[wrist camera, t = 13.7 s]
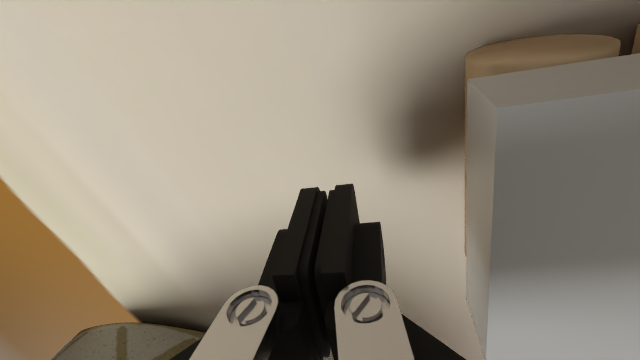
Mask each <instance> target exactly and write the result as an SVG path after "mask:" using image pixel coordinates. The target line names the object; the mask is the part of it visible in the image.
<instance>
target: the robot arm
mask: <svg viewBox="0 0 640 360" xmlns="http://www.w3.org/2000/svg"><path fill="white" fill-rule="evenodd" d="M330 348H331V350H332V354H333V358H334V360H466V359H464V358H463V357H462V356H460V355H459V354H457V353H456V352H455V351H453V350H452V349H450V348H449V347H448V346H446V345H445V344H443V343H442V342H440V341H439V340H438V339H436V338H435V337H433V336H432V335H431V334H429V333H428V332H426V331H425V330H424V329H422V328H421V327H419V326H418V325H416V324H415V323H414V322H412V321H411V320H409V319H408V318H407V317H405V316H404V315H402V314H401V312H400V308H399V305H398V301H397V298H396V296H395V294H394V292H393V291H392V290H391V289H390V288H389V287H388V286H387V285H386V272H385V258H384V248H383V239H382V231H381V224H380V222H373V223H359V216H358V210H357V204H356V197H355V191H354V186H353V184H345V185H336V186H335V190H330V191H329V196H328V200H327V195H326V192H325V191H320V190H319V188H318V187H315V188H305V189H301V190H300V193H299V196H298V199H297V202H296V205H295V208H294V211H293V214H292V217H291V220H290V223H289V226H288V229H283V230H279V231H278V233H277V235H276V238H275V241H274V243H273V246H272V249H271V251H270V254H269V257H268V260H267V262H266V265H265V268H264V270H263V273H262V276H261V278H260V281H259V284H258V285H257V286H250V287H247V288H244V289H242V290H240V291H238V292H236V293H235V294H234V295H232V296H231V297H230V298H229V299H228V300H227V301H226V302H225V304H224V305H223V307H222V308H221V310H220V311H219V313H218V315H217V316H216V318H215V319H214V321H213V323H212V324H211V326H210V327H209V329H208V331H207V332H206V334H205V335H204V337H202V338H201V339H199V340H198V341H196V342H195V343H193V344H192V345H190V346H189V347H187V348H186V349H184V350H183V351H181V352H180V353H178V354H177V355H175V356H174V357H172V358H171V359H169V360H323V357H329V355H330Z"/></svg>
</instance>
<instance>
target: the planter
mask: <svg viewBox="0 0 640 360" xmlns="http://www.w3.org/2000/svg"><path fill="white" fill-rule="evenodd" d="M205 334H206V333H205V332H200V331H194V330H189V329H183V328H177V327H171V326H164V325H157V324H148V323H115V324H107V325H101V326H95V327H91V328H88V329H85V330H83V331H81V332H79V333H78V334H77V335H76V336H75V337H74V338H73V339H72V340H71V341H70V342H69V343H68V344H67V345H66V346H64V347H63V348H62V349H61V350H60V351H59V352H58V353H57V354H56V355H55V356H54V357H53V358H52V360H169V359H171V358H172V357H174V356H175V355H177V354H178V353H180V352H181V351H183V350H184V349H186V348H187V347H189V346H190V345H192V344H193V343H195V342H196V341H198V340H199V339H201V338H202V337H204V335H205Z"/></svg>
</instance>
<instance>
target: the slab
mask: <svg viewBox="0 0 640 360" xmlns="http://www.w3.org/2000/svg"><path fill="white" fill-rule="evenodd" d="M466 300H467V303H468V306H469V309H470V312H471V316H472V319H473V322H474V325H475V329H476V332H477V335H478V338H479V342H480V345H481V348H482V351H483V355H484V358H485V360H640V53H638V54H631V55H624V56H618V57H611V58H605V59H598V60H591V61H585V62H578V63H572V64H565V65H558V66H552V67H545V68H539V69H532V70H525V71H519V72H512V73H506V74H499V75H492V76H486V77H479V78H473V79H467V261H466Z"/></svg>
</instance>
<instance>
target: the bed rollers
mask: <svg viewBox="0 0 640 360" xmlns="http://www.w3.org/2000/svg"><path fill="white" fill-rule="evenodd" d="M620 46H621V41H620V40H619V39H616V38H614V37H610V36H604V35H592V34H563V35H547V36H537V37H528V38H521V39H514V40H509V41H503V42H499V43H494V44H490V45H486V46H483V47H480V48H477V49H475V50H472V51H470V52H469V53H467V54H466V56H465V255H466V257H467V79H473V78H479V77H486V76H492V75H499V74H506V73H512V72H519V71H525V70H532V69H539V68H545V67H552V66H558V65H565V64H572V63H578V62H585V61H591V60H598V59H605V58H611V57H618V56H619V51H620ZM638 53H640V23H638V25H637V30H636V35H635V40H634V45H633V49H632V54H638Z"/></svg>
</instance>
